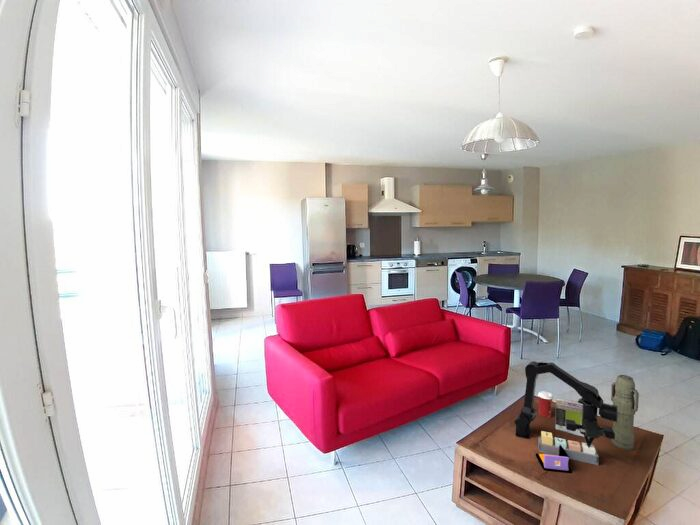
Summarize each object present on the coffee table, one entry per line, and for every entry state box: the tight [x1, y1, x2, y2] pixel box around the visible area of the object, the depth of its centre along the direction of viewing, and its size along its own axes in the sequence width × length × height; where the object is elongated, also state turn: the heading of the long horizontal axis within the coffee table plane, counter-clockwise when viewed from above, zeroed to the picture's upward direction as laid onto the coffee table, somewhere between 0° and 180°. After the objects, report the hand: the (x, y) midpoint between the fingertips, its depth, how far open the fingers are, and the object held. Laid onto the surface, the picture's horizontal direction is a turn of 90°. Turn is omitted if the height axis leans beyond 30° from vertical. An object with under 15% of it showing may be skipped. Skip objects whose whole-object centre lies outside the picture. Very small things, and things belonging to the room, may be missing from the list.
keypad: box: [537, 435, 600, 466], centre depth 166 cm, size 24×7×4 cm, turn 64°
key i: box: [540, 430, 554, 446], centre depth 169 cm, size 5×5×4 cm
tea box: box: [555, 397, 589, 439], centre depth 186 cm, size 15×10×15 cm, turn 58°
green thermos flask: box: [610, 374, 640, 451], centre depth 172 cm, size 9×12×35 cm
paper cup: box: [537, 390, 554, 419], centre depth 199 cm, size 8×8×14 cm
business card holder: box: [535, 445, 573, 474], centre depth 159 cm, size 12×12×7 cm
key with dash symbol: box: [567, 439, 581, 452], centre depth 165 cm, size 5×5×4 cm
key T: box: [581, 442, 595, 455], centre depth 162 cm, size 5×5×4 cm
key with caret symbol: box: [553, 436, 567, 449], centre depth 167 cm, size 5×5×4 cm
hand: (588, 446), depth 162 cm, fingers closed, pressing on key T
